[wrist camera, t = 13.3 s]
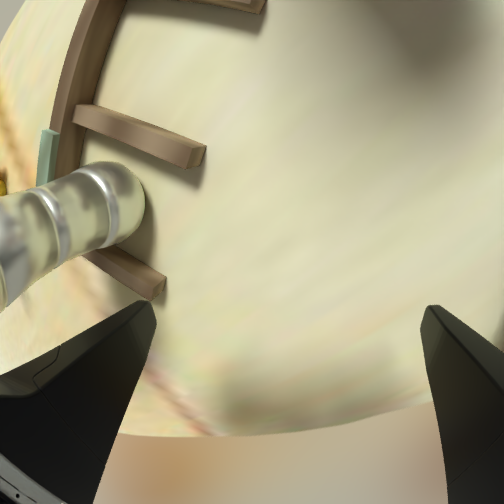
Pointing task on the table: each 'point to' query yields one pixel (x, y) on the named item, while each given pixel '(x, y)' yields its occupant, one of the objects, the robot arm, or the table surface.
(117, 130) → the comb rack
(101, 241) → the plastic bottle
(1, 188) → the teapot
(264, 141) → the table surface
